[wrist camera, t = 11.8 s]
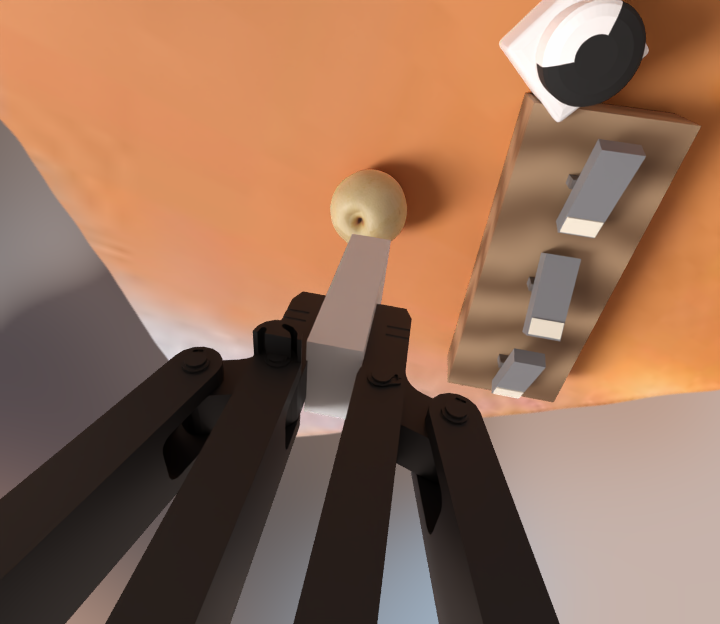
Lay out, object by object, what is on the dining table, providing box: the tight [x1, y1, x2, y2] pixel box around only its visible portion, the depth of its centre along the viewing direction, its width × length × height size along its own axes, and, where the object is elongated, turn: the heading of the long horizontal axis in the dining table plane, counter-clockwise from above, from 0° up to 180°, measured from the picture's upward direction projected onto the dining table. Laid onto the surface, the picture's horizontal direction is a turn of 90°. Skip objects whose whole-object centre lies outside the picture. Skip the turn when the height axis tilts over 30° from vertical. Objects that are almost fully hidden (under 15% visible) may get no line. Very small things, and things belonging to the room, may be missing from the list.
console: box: [448, 93, 701, 402], centre depth 45 cm, size 32×13×6 cm, turn 174°
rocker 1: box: [492, 348, 546, 399], centre depth 48 cm, size 8×3×2 cm, turn 173°
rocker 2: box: [522, 253, 581, 341], centre depth 42 cm, size 8×3×2 cm, turn 175°
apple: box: [330, 169, 407, 243], centre depth 45 cm, size 8×8×8 cm
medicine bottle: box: [499, 0, 649, 122], centre depth 32 cm, size 7×7×12 cm
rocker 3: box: [556, 139, 646, 238], centre depth 36 cm, size 8×3×2 cm, turn 173°
